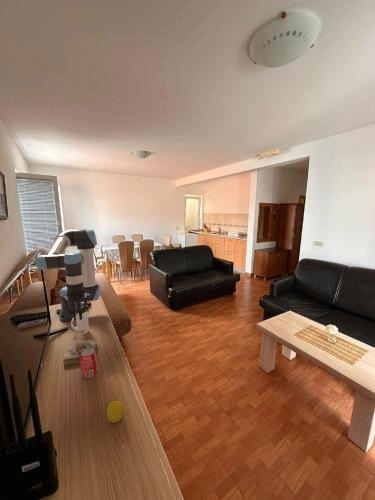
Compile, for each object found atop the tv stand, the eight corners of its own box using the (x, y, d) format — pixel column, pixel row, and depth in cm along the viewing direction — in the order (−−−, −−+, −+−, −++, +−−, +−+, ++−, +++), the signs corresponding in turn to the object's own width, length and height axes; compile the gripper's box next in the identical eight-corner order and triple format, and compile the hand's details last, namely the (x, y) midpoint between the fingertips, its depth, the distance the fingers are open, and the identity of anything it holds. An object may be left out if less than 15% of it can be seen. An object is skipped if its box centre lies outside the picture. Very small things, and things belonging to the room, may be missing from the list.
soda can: (91, 366, 104) (89, 345, 102) (100, 372, 101) (99, 349, 99) (78, 376, 98) (75, 353, 96) (87, 382, 95) (85, 358, 93)
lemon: (105, 420, 77) (103, 402, 76) (119, 411, 81) (118, 393, 79) (111, 431, 73) (110, 412, 72) (126, 421, 77) (125, 402, 76)
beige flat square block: (69, 349, 118) (69, 343, 117) (96, 344, 122) (96, 339, 122) (63, 366, 105) (63, 359, 104) (94, 360, 109) (93, 354, 109)
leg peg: (78, 353, 115) (75, 329, 112) (86, 351, 116) (84, 328, 114) (76, 357, 111) (74, 333, 109) (85, 356, 112) (82, 332, 110)
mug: (88, 328, 140) (87, 311, 138) (89, 332, 134) (88, 315, 132) (71, 332, 135) (69, 314, 133) (72, 337, 129) (70, 319, 127)
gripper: (58, 286, 101) (63, 331, 105) (87, 283, 105) (91, 327, 109) (62, 281, 108) (66, 324, 112) (89, 279, 112) (93, 320, 116)
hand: (78, 325), depth 111 cm, fingers closed
